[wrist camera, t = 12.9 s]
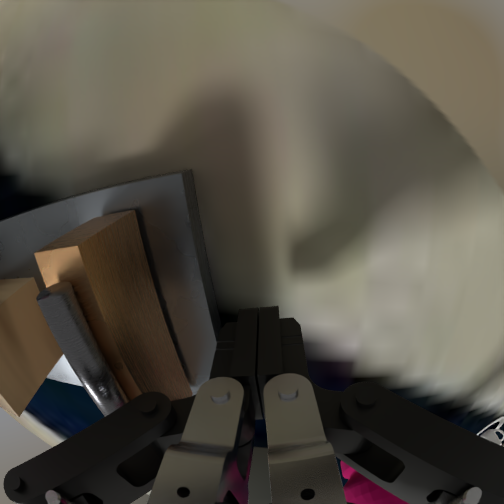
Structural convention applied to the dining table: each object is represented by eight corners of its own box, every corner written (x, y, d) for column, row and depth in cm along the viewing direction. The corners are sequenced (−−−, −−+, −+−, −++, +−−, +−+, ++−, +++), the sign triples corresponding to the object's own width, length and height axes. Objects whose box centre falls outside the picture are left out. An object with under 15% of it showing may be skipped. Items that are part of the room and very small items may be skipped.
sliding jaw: (159, 391, 14) (134, 463, 9) (94, 217, 10) (9, 269, 5) (192, 393, 13) (173, 471, 9) (134, 209, 10) (50, 264, 5)
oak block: (24, 341, 14) (-20, 394, 8) (-5, 279, 12) (-62, 326, 6) (66, 349, 13) (19, 416, 8) (33, 277, 12) (-36, 337, 6)
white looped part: (463, 452, 24) (470, 470, 20) (453, 448, 22) (461, 469, 19) (506, 419, 21) (515, 436, 18) (502, 409, 20) (513, 429, 16)
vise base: (22, 357, 17) (-9, 396, 12) (-32, 233, 13) (-78, 261, 7) (234, 381, 15) (225, 462, 10) (191, 169, 11) (131, 194, 6)
